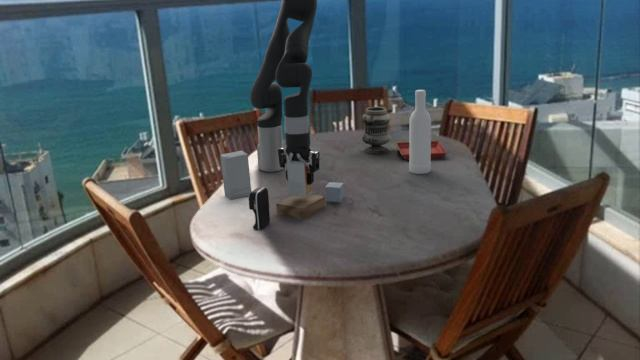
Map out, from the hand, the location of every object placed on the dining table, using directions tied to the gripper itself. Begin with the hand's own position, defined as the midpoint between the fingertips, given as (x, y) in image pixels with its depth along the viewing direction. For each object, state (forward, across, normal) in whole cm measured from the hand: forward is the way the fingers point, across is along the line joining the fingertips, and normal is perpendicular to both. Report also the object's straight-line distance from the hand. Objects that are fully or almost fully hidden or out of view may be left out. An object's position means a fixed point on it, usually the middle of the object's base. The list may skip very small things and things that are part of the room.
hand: (300, 182), depth 187 cm
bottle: (+10, +17, +54) cm, 57 cm away
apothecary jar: (+10, -11, +74) cm, 75 cm away
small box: (+4, 0, 0) cm, 4 cm away
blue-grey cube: (+9, +4, +14) cm, 17 cm away
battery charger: (+9, -4, -16) cm, 19 cm away
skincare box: (+10, -28, +3) cm, 30 cm away
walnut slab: (+10, 0, 0) cm, 10 cm away
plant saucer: (+10, +8, +76) cm, 77 cm away
